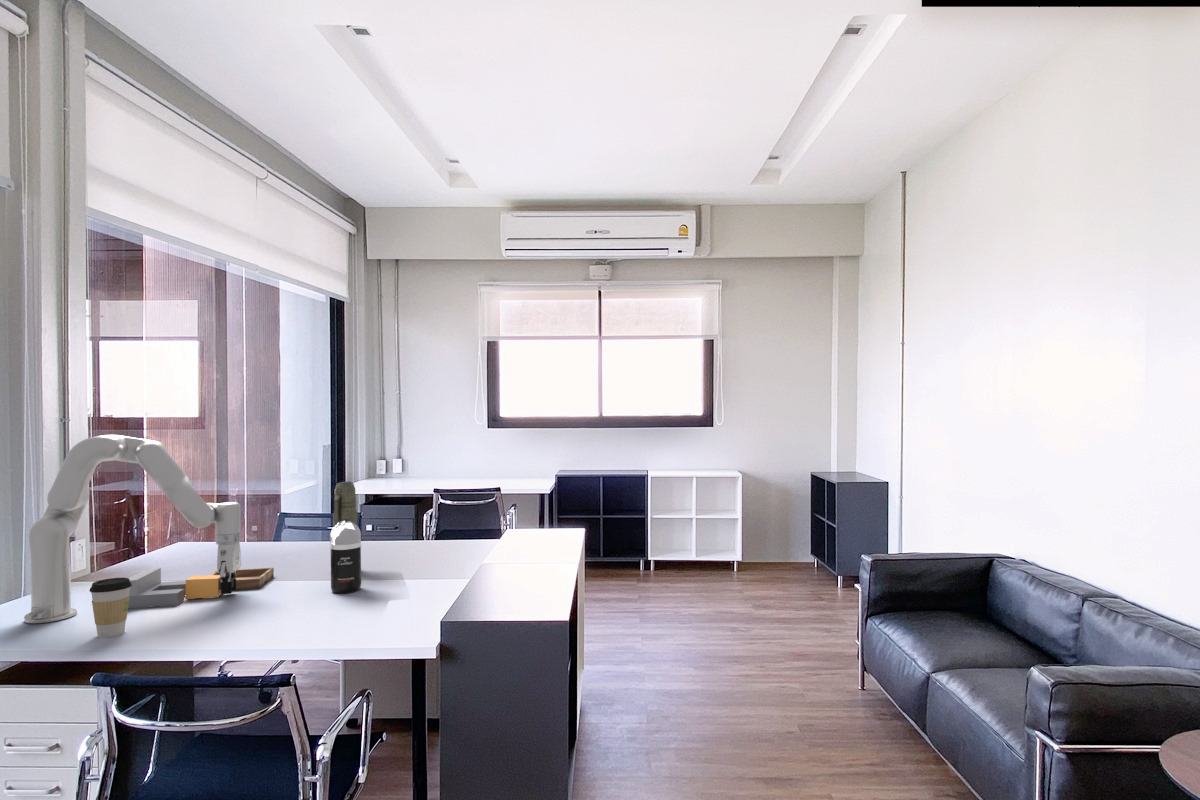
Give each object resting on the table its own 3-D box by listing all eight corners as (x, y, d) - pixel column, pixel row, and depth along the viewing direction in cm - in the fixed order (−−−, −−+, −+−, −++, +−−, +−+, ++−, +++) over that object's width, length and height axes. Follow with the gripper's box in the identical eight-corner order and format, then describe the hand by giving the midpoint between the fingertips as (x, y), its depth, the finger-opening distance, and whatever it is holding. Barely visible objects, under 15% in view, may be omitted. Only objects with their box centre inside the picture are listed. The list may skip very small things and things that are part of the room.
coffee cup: (140, 628, 197) (139, 576, 197) (117, 639, 187) (116, 585, 187) (105, 629, 197) (105, 577, 197) (80, 640, 187) (80, 586, 187)
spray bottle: (330, 588, 239) (330, 517, 239) (361, 585, 242) (360, 515, 243) (330, 595, 229) (329, 521, 230) (362, 592, 233) (361, 519, 233)
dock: (177, 605, 221) (177, 577, 221) (122, 608, 217) (122, 580, 218) (198, 591, 238) (198, 565, 238) (148, 594, 235) (148, 568, 235)
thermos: (327, 575, 259) (326, 483, 259) (342, 568, 271) (341, 480, 271) (348, 575, 258) (347, 483, 258) (363, 568, 269) (362, 480, 270)
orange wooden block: (229, 597, 229) (229, 578, 230) (185, 599, 227) (185, 579, 227) (234, 593, 235) (234, 574, 235) (191, 595, 232) (192, 575, 232)
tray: (259, 588, 240) (259, 578, 240) (198, 592, 236) (197, 582, 236) (273, 576, 258) (273, 567, 258) (216, 580, 254) (216, 570, 254)
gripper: (232, 542, 225) (232, 597, 225) (247, 533, 241) (248, 585, 241) (207, 543, 223) (207, 599, 223) (224, 534, 240) (225, 586, 239)
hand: (228, 591), depth 232 cm, fingers closed on orange wooden block, 3 cm apart
